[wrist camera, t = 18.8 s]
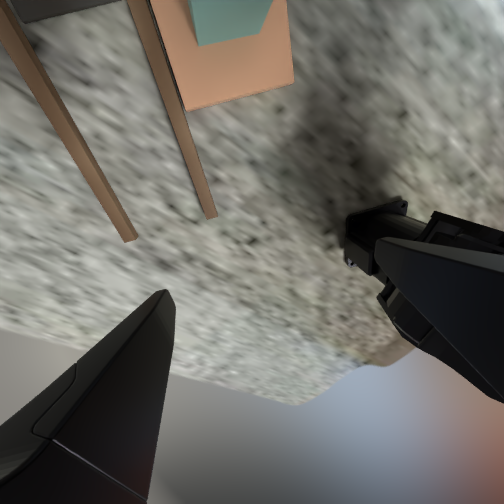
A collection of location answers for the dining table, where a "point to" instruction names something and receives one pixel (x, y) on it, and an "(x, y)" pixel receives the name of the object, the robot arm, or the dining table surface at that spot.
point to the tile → (225, 57)
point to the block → (227, 19)
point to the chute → (18, 47)
